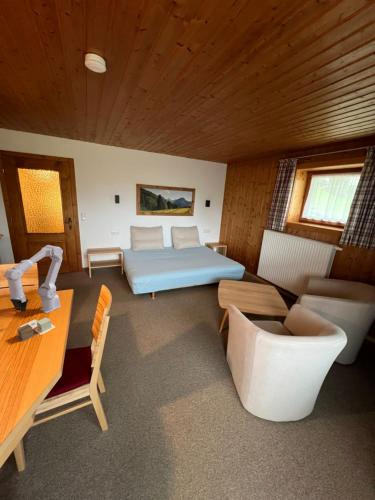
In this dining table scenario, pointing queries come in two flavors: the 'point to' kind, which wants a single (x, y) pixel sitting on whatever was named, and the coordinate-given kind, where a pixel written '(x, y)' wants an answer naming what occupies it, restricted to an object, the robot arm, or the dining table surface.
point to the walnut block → (25, 332)
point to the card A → (31, 324)
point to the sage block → (44, 324)
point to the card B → (44, 331)
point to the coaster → (26, 338)
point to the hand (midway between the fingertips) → (20, 308)
